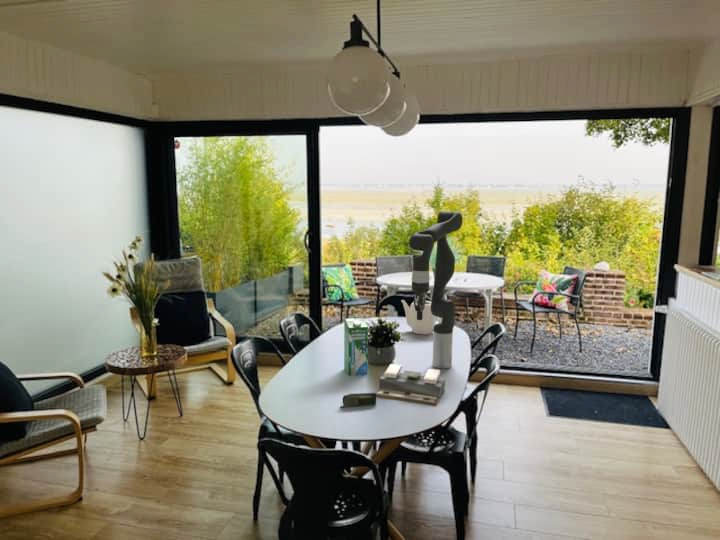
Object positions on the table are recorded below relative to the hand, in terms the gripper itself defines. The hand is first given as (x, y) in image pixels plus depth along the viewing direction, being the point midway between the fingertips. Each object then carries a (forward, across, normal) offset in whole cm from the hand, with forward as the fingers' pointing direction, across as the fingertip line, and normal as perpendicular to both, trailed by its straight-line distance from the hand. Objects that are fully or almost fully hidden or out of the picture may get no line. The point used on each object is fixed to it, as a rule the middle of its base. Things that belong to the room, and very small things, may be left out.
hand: (419, 319), depth 223 cm
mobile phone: (+29, +32, -16) cm, 47 cm away
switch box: (+29, +13, 0) cm, 32 cm away
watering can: (+29, -82, -20) cm, 89 cm away
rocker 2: (+23, +11, 0) cm, 25 cm away
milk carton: (+29, -3, -31) cm, 43 cm away
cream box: (+23, +10, +9) cm, 26 cm away
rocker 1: (+23, +10, -9) cm, 26 cm away
